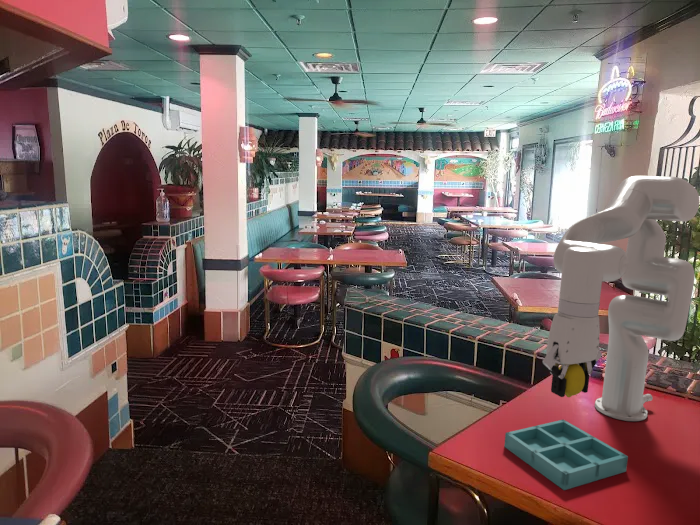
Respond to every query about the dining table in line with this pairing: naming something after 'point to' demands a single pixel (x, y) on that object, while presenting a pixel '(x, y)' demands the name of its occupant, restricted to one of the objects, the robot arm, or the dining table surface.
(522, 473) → the dining table surface
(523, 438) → the square compartment tray
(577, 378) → the lemon
